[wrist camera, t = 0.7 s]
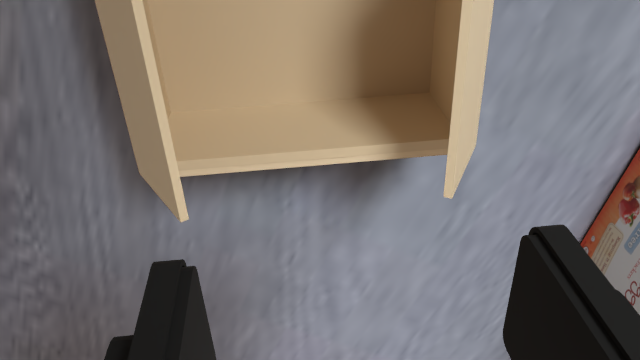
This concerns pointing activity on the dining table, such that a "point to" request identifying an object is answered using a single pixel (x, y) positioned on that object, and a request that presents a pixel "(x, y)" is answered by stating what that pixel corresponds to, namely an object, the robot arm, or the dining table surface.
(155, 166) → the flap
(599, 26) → the dining table surface
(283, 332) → the dining table surface
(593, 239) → the cracker box
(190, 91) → the carton
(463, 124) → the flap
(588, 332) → the robot arm
